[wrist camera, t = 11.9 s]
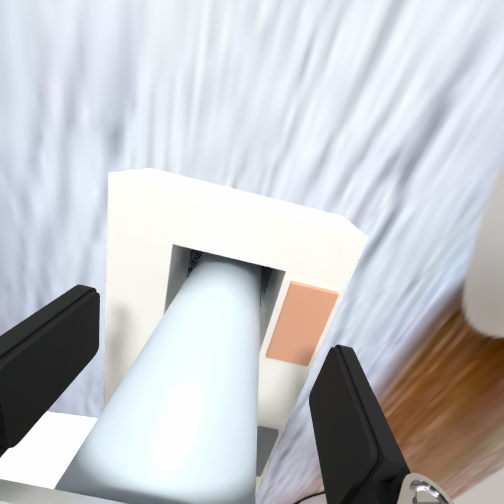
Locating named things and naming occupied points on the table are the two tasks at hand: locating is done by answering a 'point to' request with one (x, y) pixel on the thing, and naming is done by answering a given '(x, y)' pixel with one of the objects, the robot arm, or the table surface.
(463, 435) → the table surface
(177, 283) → the socket block
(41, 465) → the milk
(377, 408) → the robot arm
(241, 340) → the plug
